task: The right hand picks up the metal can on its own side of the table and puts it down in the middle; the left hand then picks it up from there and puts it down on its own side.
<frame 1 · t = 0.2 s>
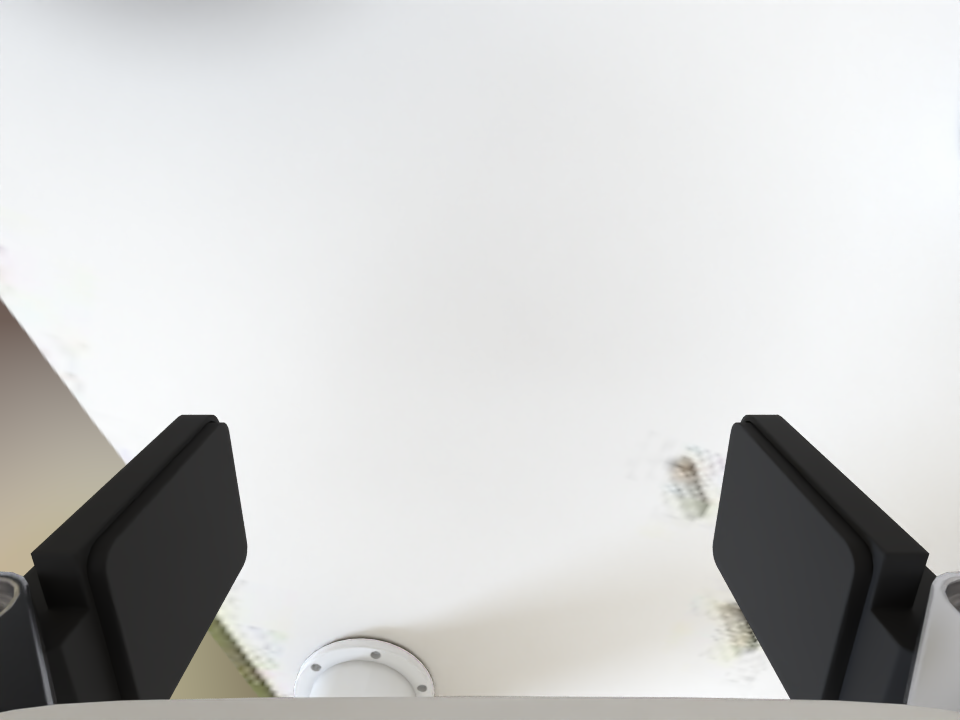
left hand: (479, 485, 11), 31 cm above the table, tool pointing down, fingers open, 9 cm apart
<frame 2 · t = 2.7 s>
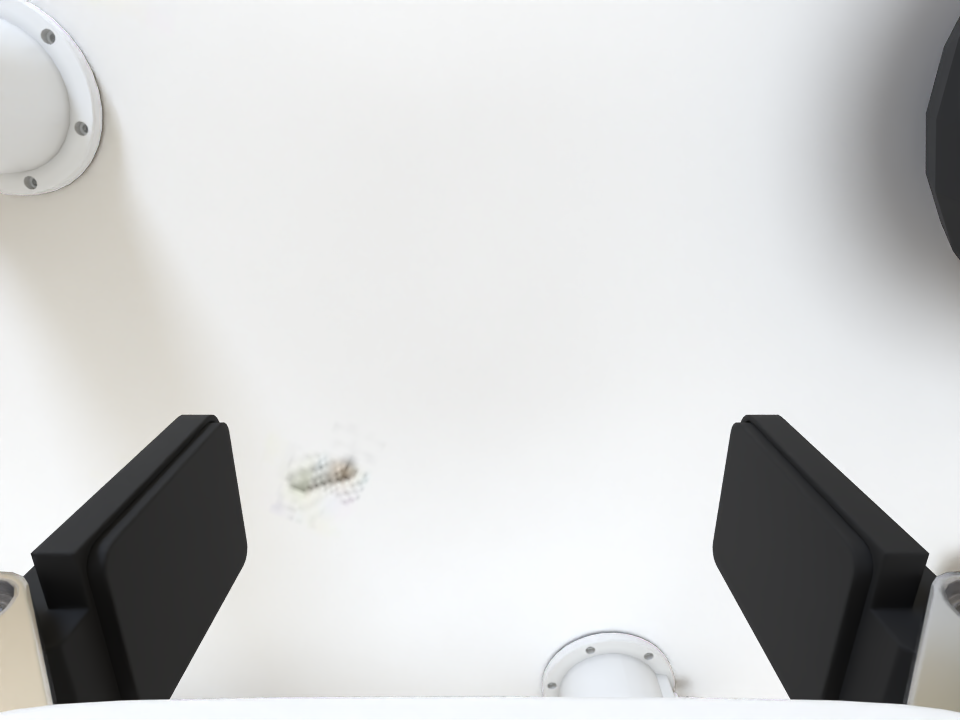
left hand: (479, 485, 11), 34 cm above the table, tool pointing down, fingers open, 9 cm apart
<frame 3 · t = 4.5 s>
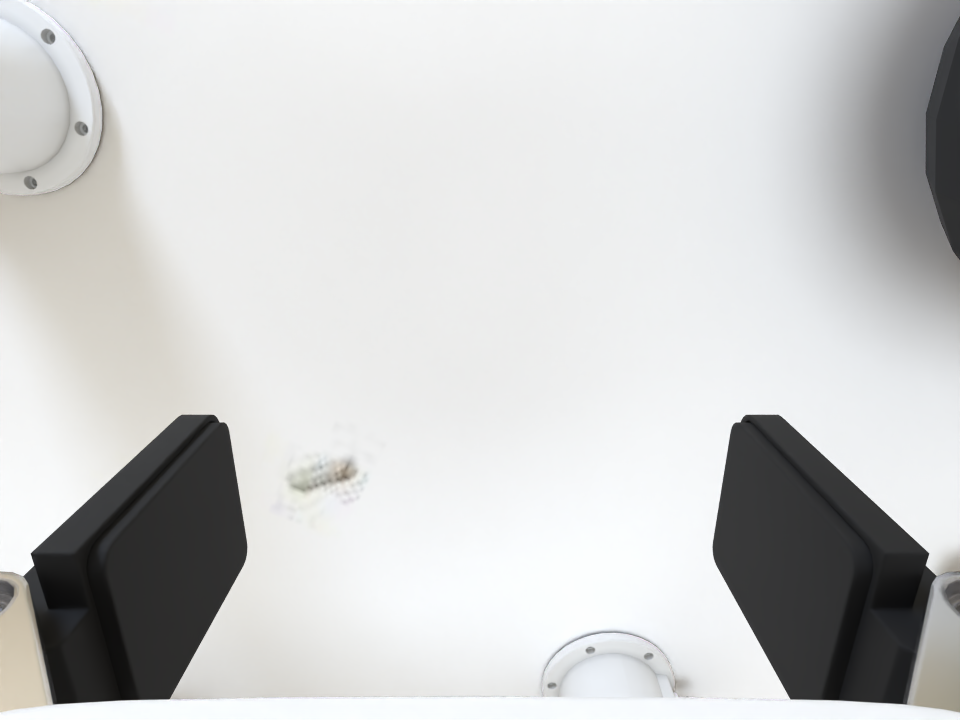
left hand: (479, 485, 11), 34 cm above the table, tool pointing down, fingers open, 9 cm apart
when the right hand's fingers open (9 cm above the table, at t = 6.7 s): can drops 1 cm, on the table.
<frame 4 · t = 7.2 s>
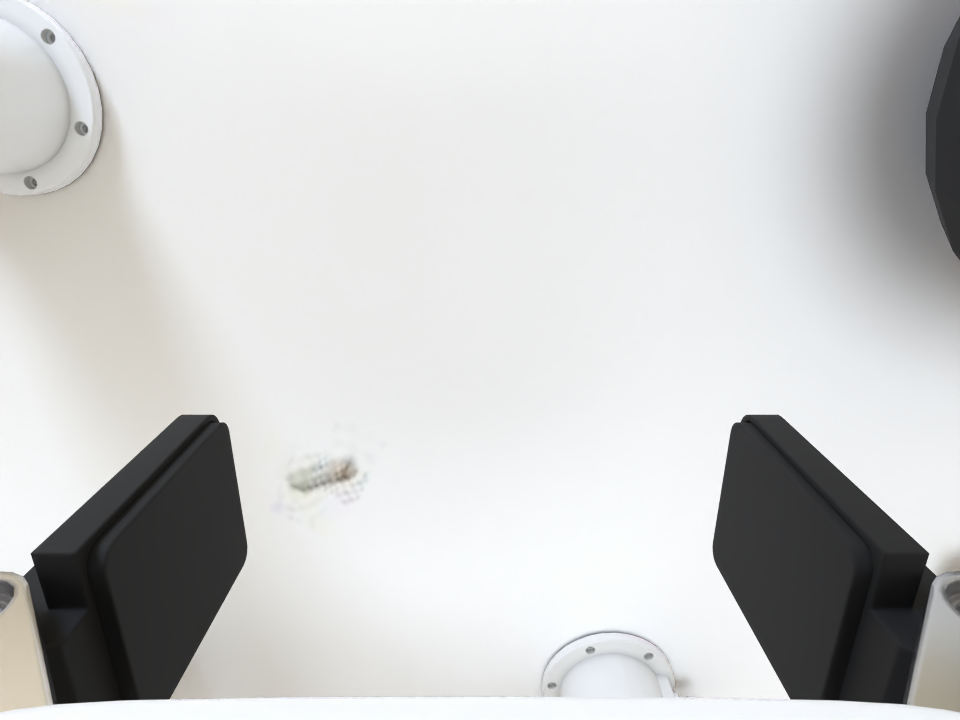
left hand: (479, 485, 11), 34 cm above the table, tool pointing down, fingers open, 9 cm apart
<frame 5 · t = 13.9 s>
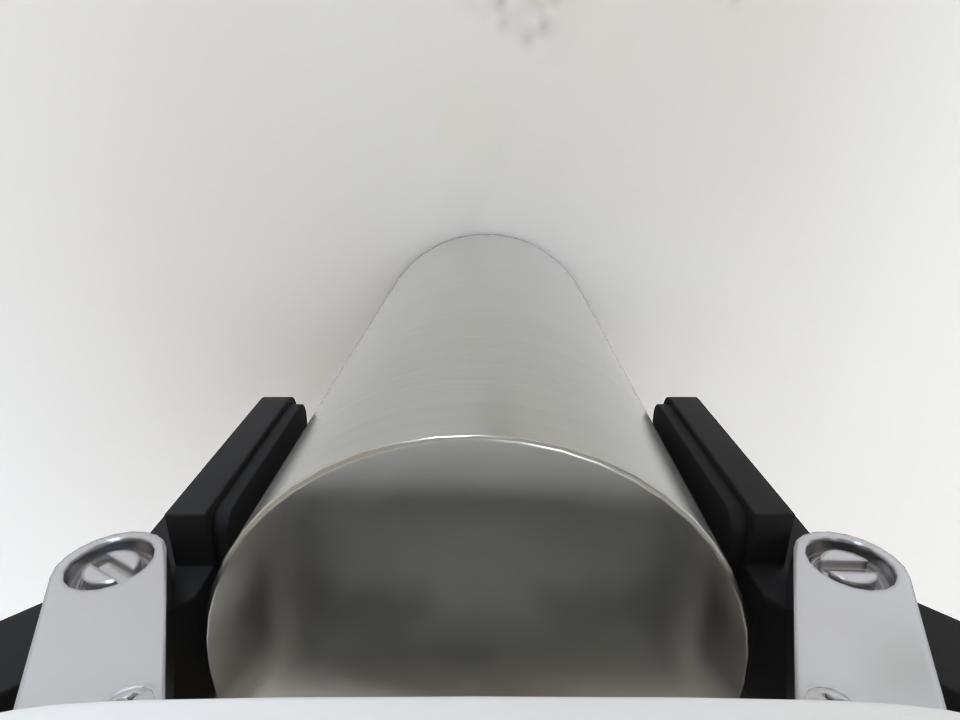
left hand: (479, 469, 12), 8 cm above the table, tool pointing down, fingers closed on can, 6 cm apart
can: (485, 339, 19), on the table, touching left hand
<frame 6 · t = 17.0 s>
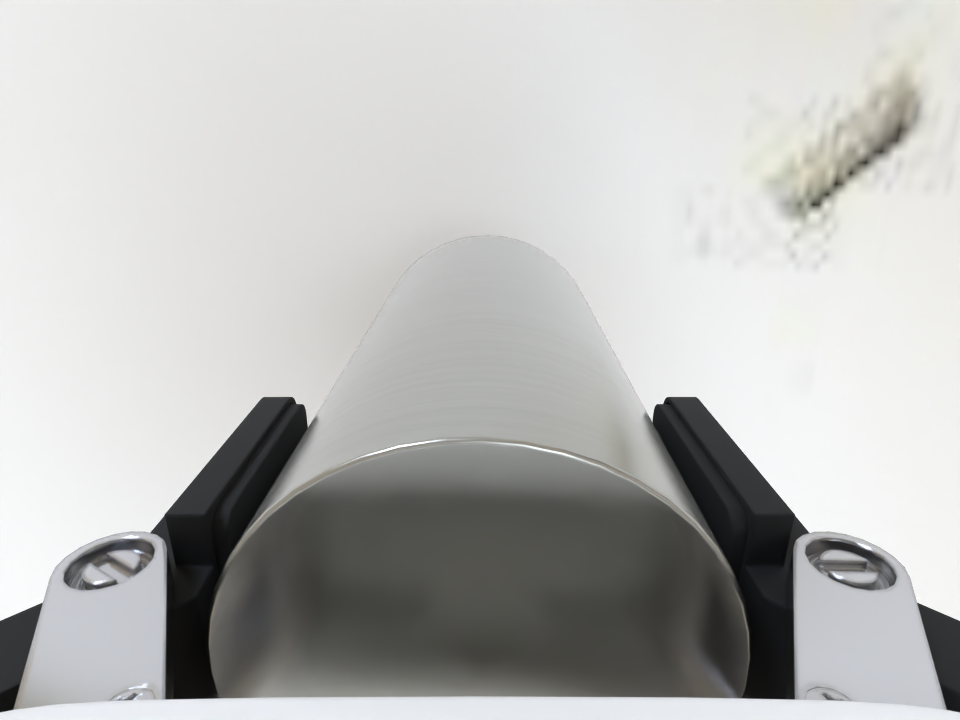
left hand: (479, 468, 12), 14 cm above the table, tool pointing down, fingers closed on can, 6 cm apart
can: (486, 340, 19), point 6 cm above the table, touching left hand
when the left hand's fingers open (9 cm above the table, at t = 20.3 s): can drops 1 cm, on the table.
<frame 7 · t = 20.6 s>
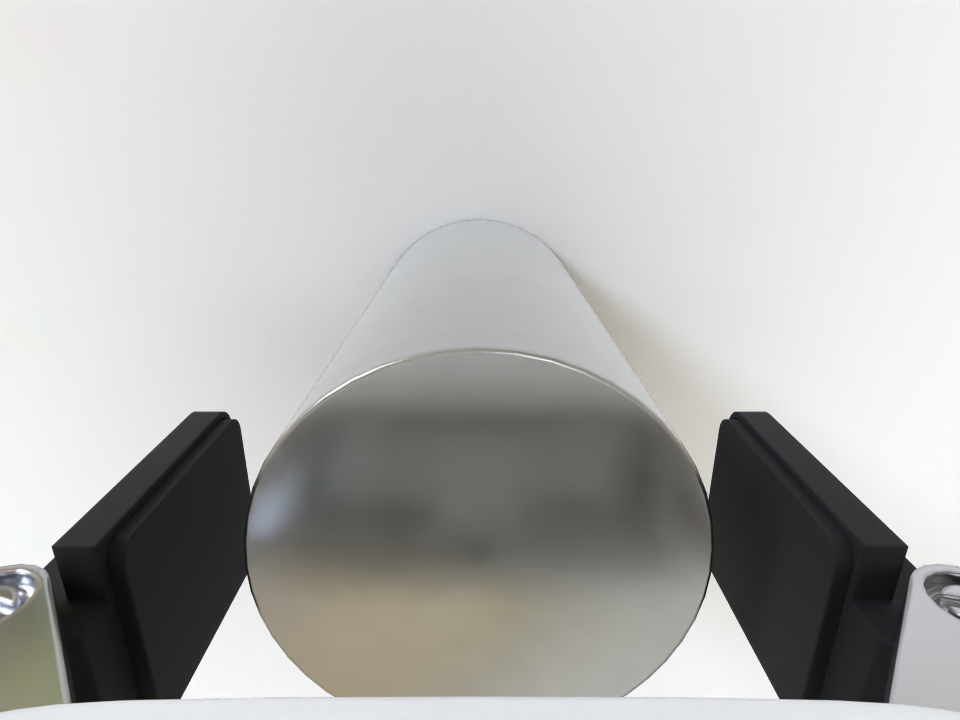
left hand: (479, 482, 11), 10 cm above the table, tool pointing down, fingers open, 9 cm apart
can: (479, 319, 20), on the table
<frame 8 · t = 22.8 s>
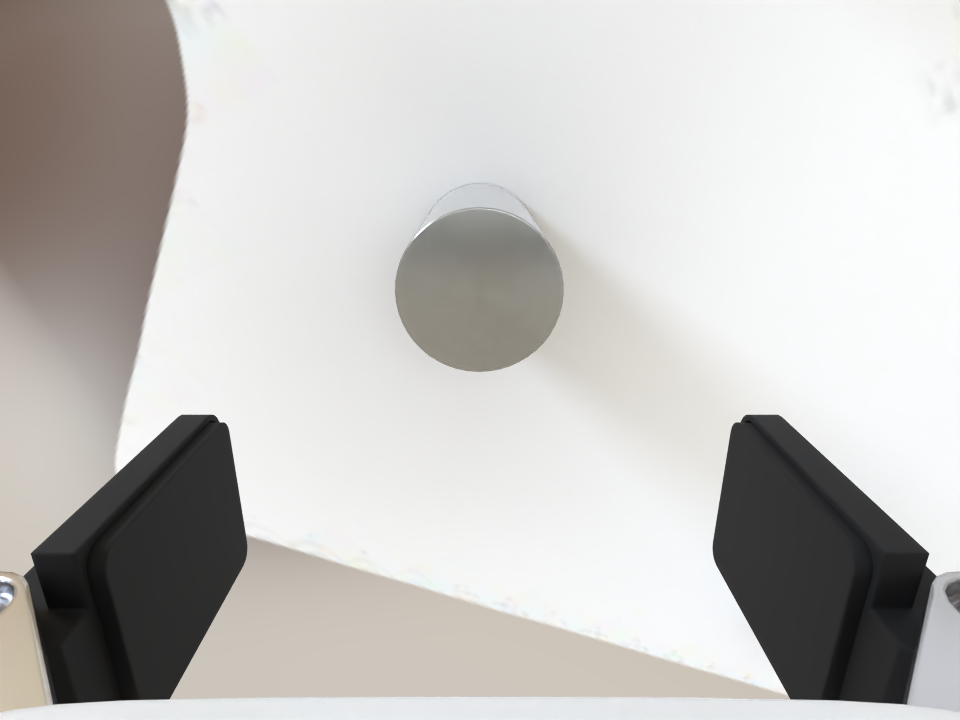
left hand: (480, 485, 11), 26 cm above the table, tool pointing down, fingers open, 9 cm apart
can: (479, 241, 35), on the table
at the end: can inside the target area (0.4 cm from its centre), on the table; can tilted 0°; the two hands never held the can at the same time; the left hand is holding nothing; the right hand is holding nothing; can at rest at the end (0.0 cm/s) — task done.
